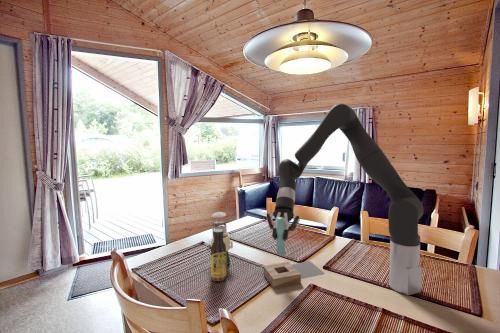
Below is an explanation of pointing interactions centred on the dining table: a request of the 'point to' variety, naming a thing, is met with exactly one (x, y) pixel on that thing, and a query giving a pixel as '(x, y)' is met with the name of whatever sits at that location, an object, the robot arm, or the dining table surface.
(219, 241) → the sauce bottle
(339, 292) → the dining table surface
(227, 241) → the character mug
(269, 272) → the socket block
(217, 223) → the french press
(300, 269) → the mat
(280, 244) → the peg
